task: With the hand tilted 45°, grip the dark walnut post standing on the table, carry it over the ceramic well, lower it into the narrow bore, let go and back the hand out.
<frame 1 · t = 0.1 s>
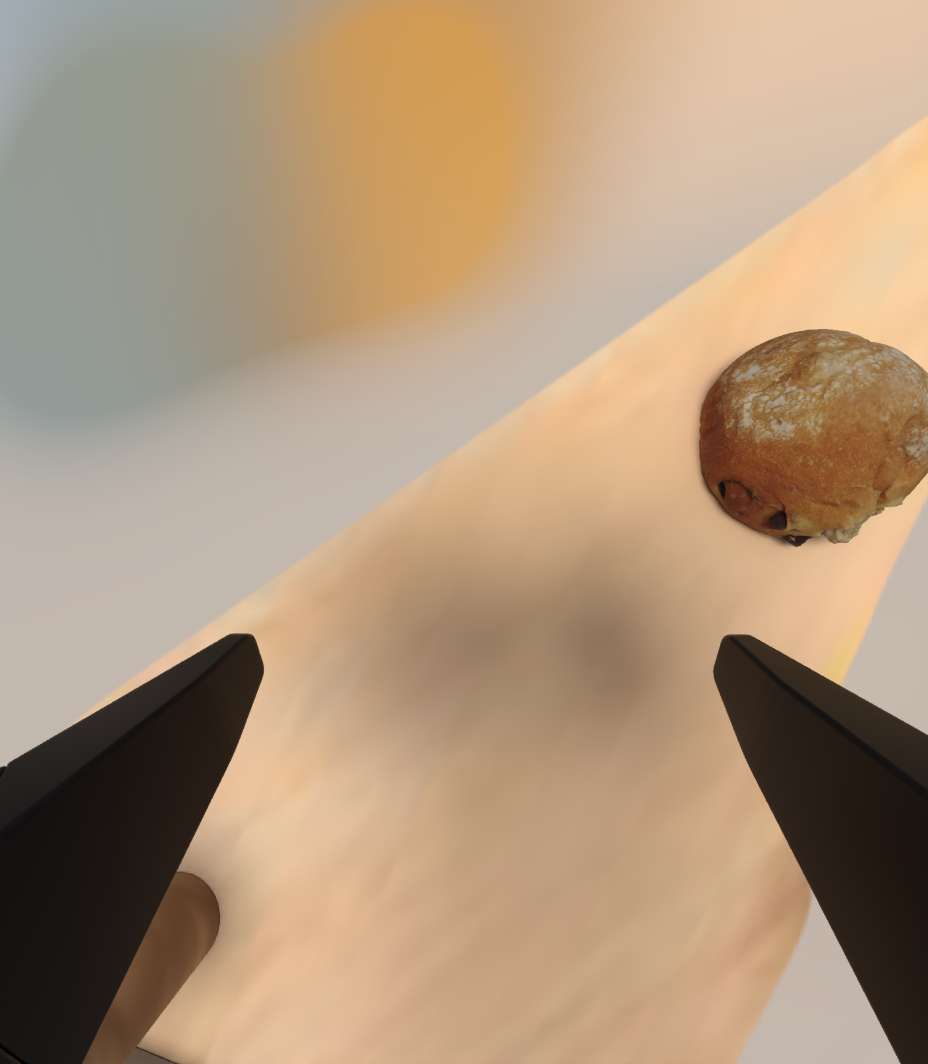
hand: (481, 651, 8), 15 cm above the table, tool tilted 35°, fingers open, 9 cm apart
post: (177, 919, 22), on the table
bread roll: (780, 453, 24), on the table
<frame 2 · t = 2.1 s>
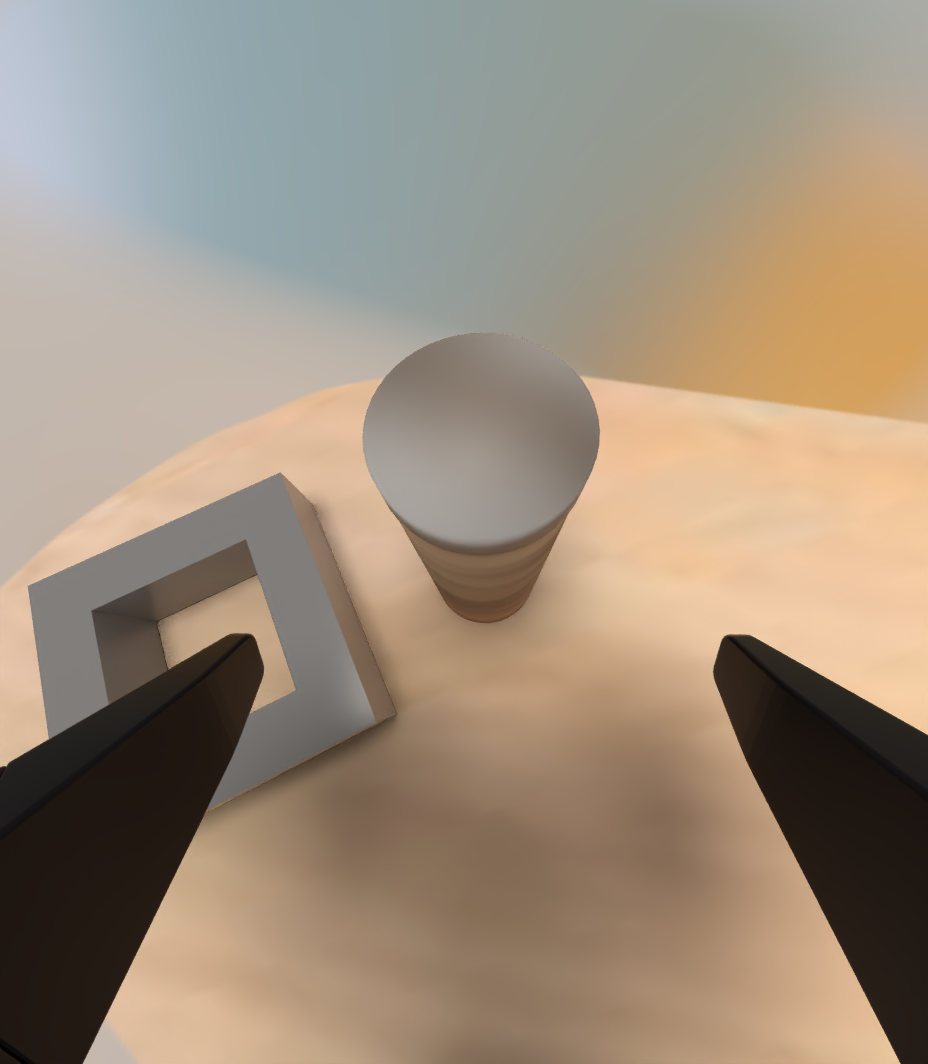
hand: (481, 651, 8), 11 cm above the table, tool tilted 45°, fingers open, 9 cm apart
post: (484, 574, 20), on the table
well: (239, 653, 20), on the table
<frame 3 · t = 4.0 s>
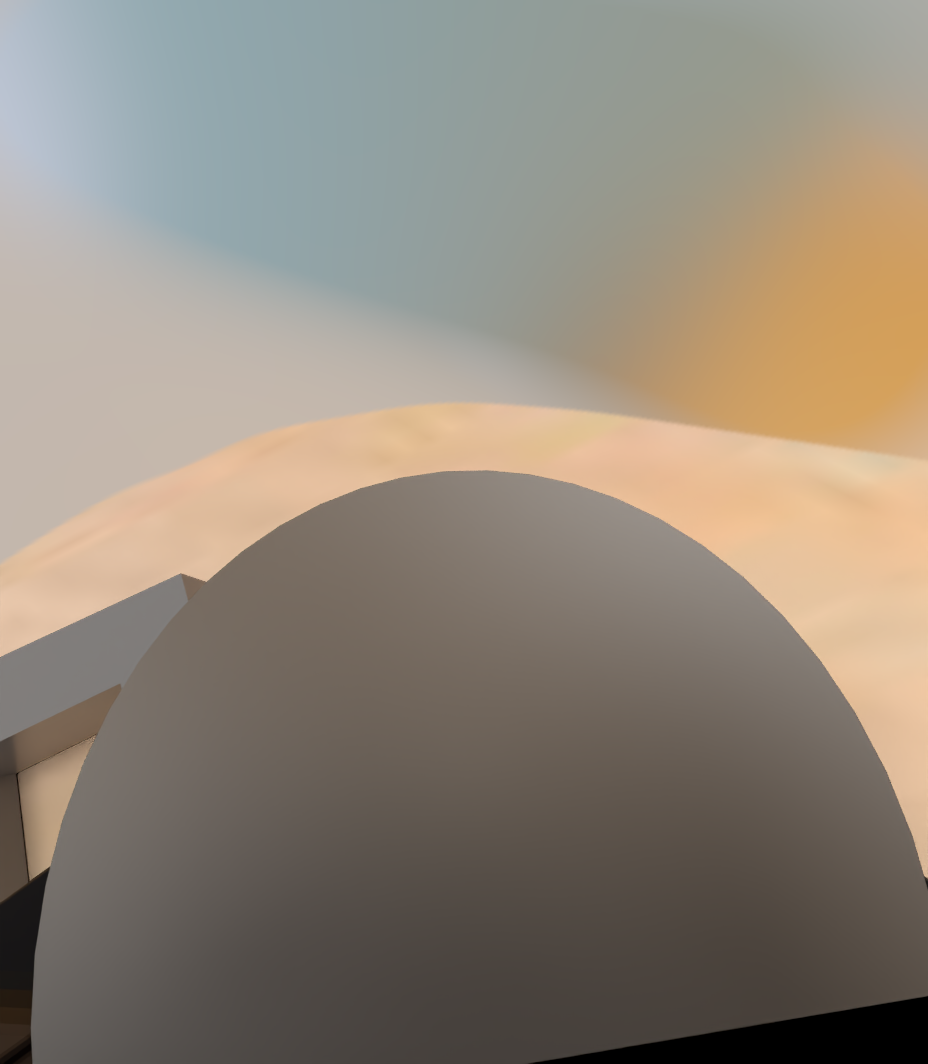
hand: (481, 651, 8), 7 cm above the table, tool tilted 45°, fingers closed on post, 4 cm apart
post: (484, 707, 14), on the table, touching gripper
well: (130, 828, 14), on the table
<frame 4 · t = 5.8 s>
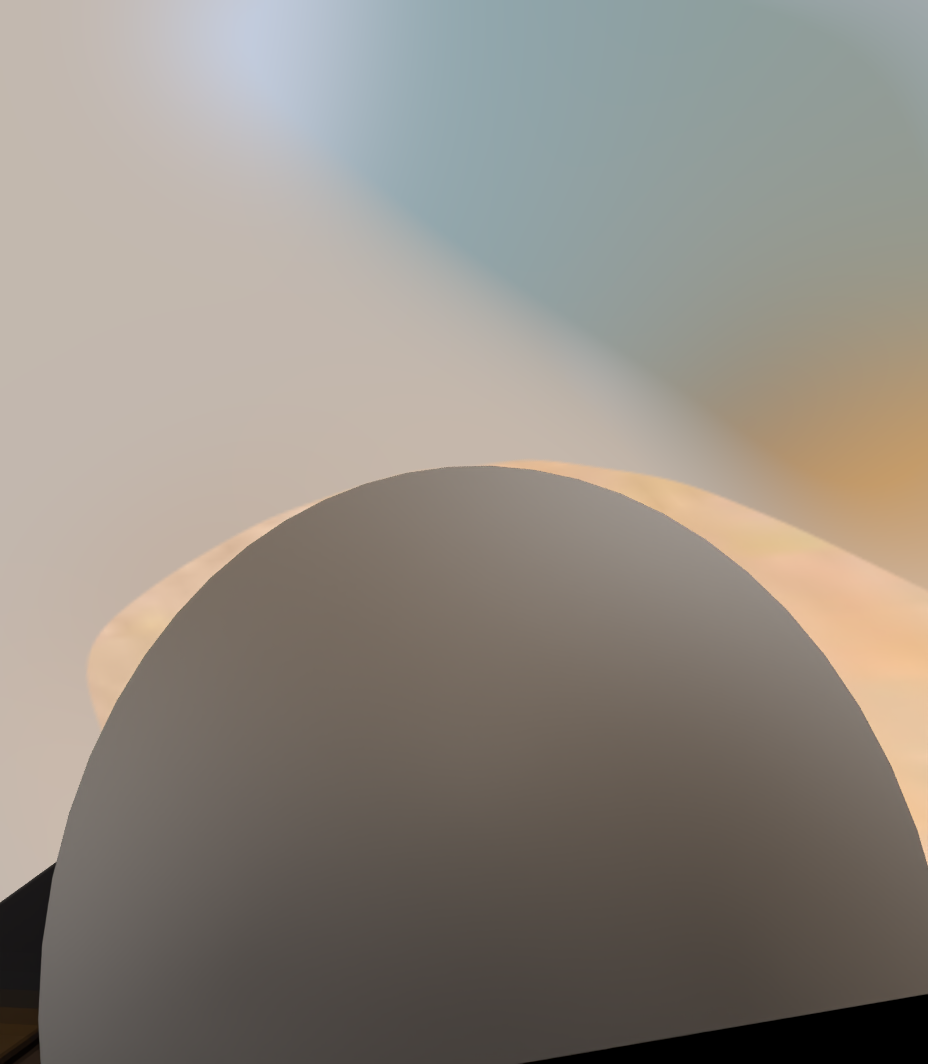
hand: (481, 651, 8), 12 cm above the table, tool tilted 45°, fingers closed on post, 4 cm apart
post: (486, 706, 14), point 6 cm above the table, touching gripper
when the fingers open (8 cm above the table, at t = 7.4 s): post drops 2 cm, resting in well.
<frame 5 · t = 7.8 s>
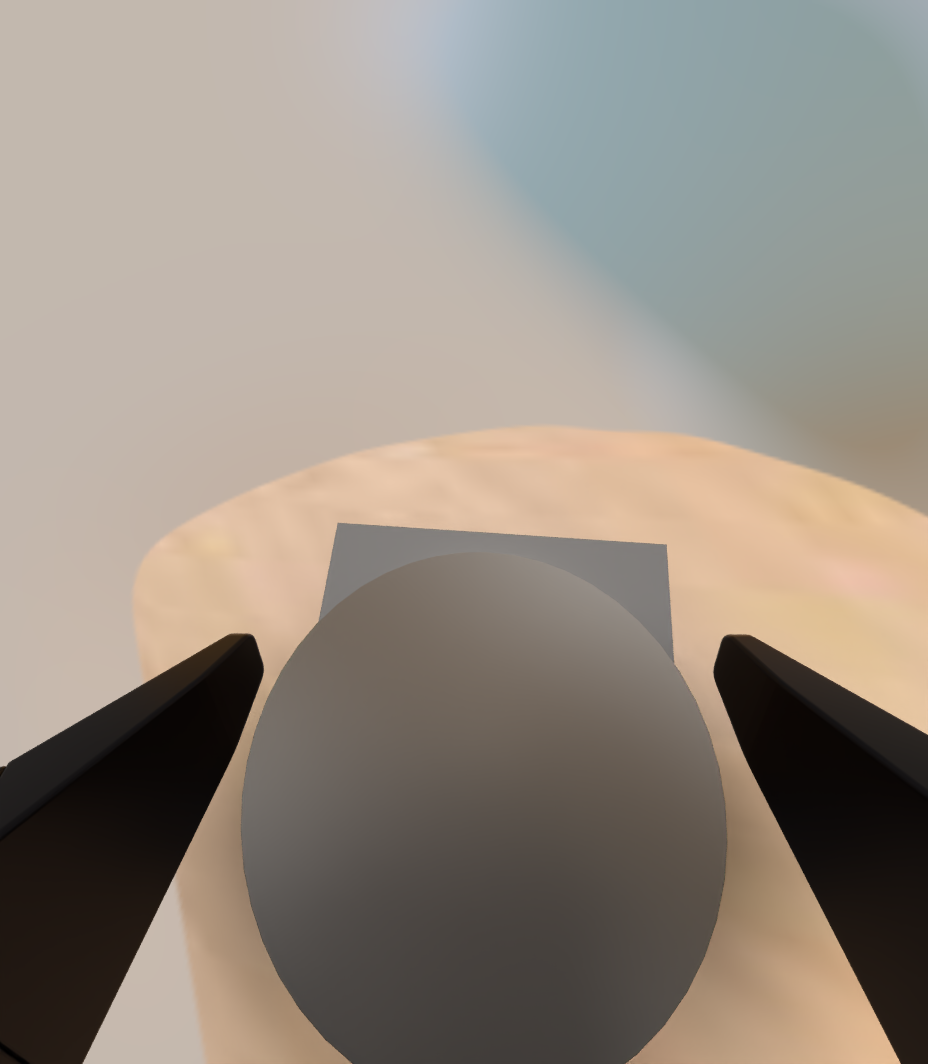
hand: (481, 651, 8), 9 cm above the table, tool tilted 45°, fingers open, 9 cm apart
post: (486, 704, 16), resting in well
well: (485, 703, 16), on the table
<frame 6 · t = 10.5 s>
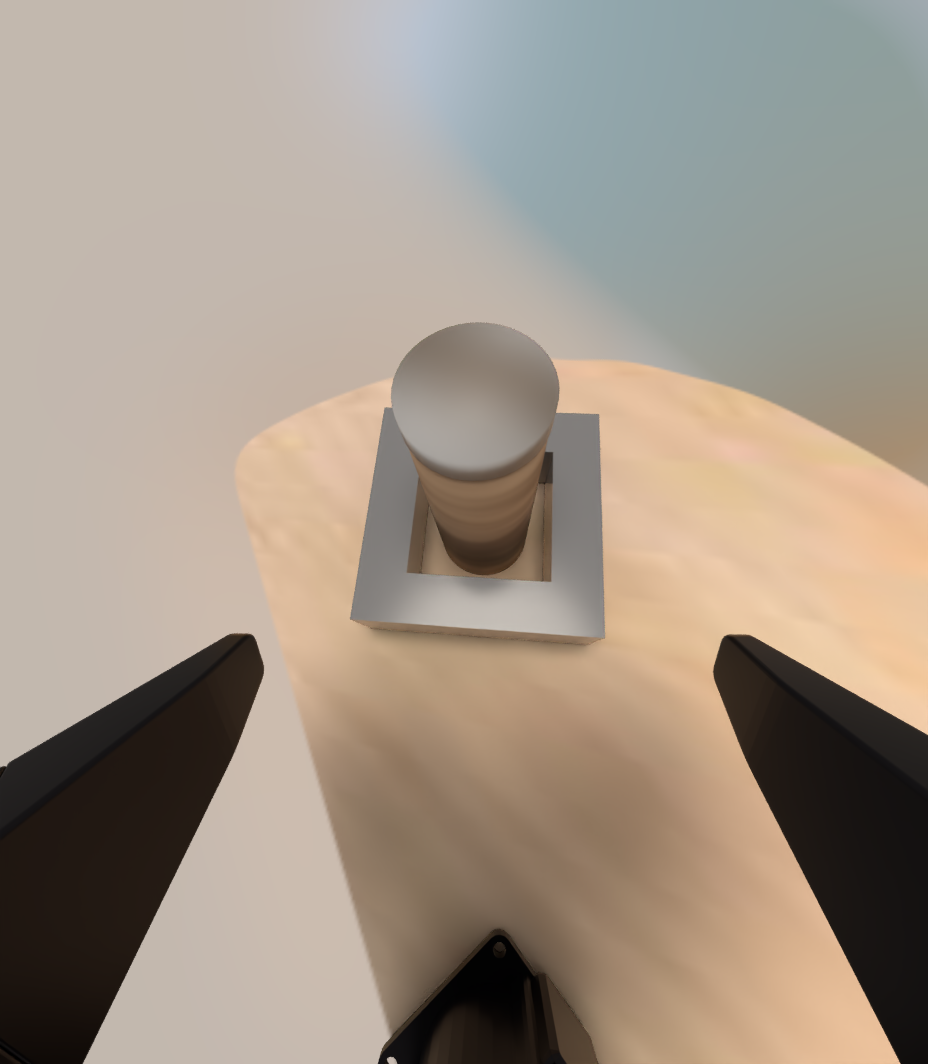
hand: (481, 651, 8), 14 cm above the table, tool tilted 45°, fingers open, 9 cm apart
post: (484, 534, 24), resting in well
well: (483, 534, 24), on the table
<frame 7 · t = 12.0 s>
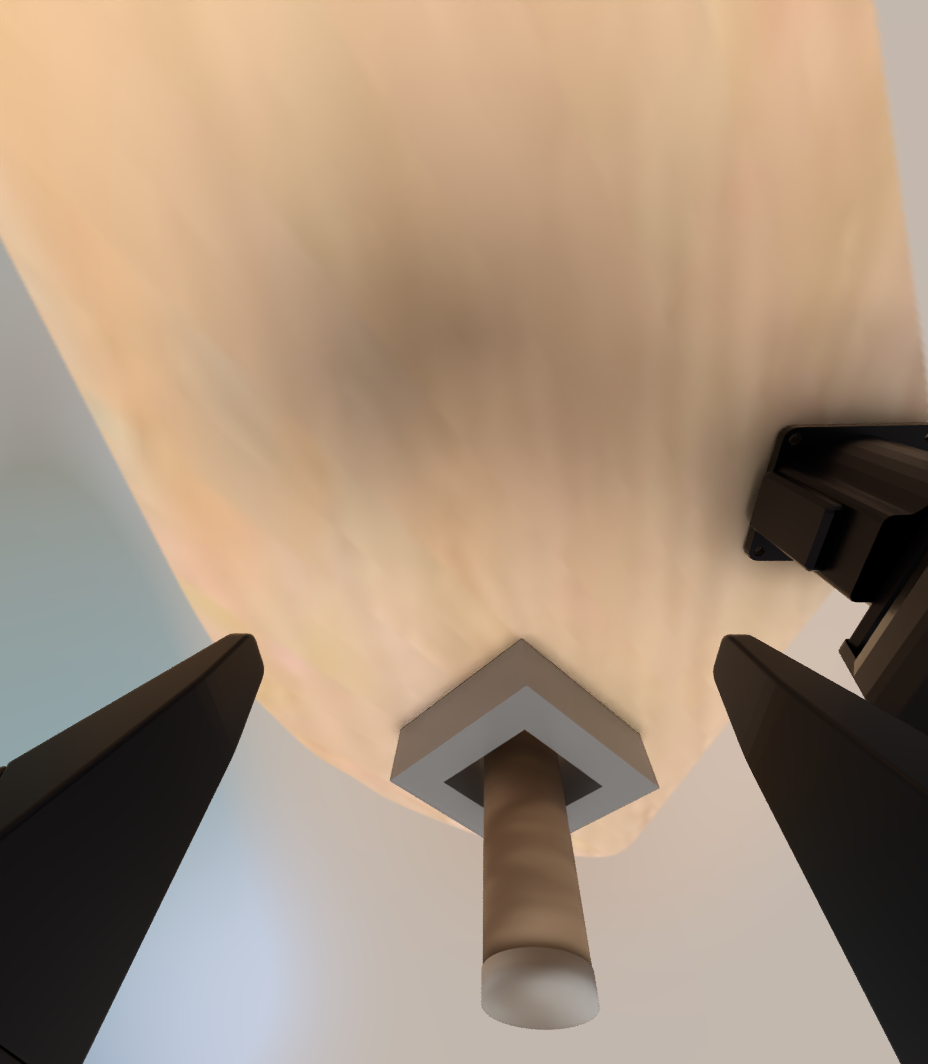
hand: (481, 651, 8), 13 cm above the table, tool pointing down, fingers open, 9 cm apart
post: (518, 731, 28), resting in well
well: (518, 732, 28), on the table
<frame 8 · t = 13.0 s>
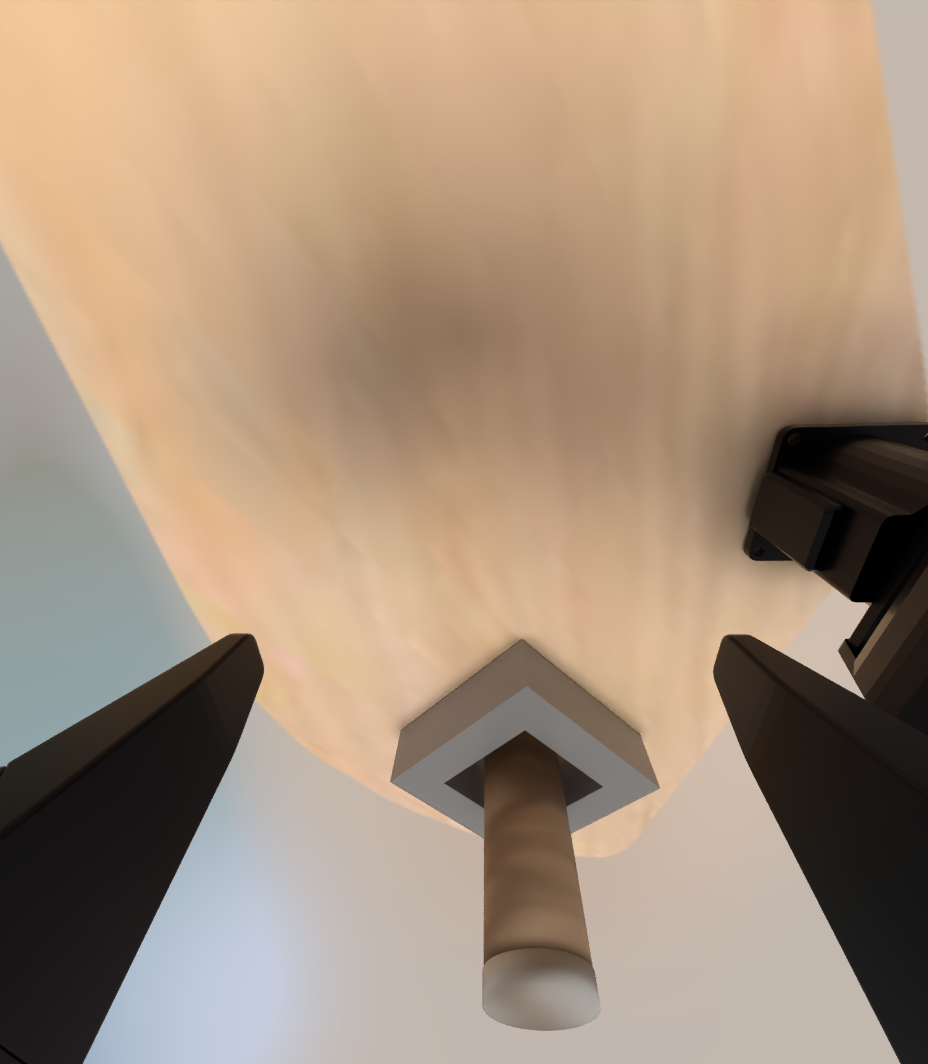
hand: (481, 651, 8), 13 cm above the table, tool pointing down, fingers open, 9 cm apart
post: (518, 732, 28), resting in well
well: (518, 732, 28), on the table
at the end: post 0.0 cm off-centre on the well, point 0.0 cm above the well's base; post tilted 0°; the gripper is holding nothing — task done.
